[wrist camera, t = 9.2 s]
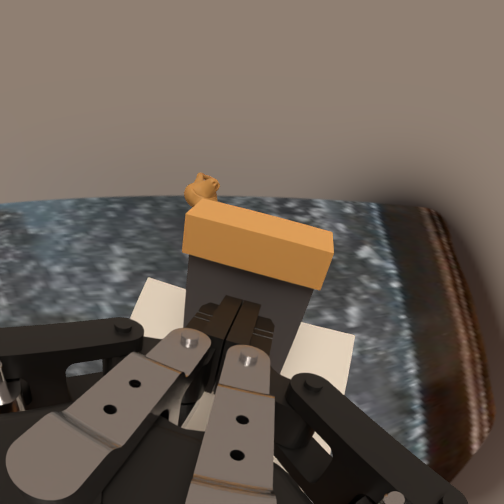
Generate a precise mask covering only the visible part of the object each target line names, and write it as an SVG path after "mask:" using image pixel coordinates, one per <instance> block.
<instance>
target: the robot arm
mask: <svg viewBox="0 0 504 504" xmlns="http://www.w3.org/2000/svg"><path fill="white" fill-rule="evenodd" d="M242 303H243V304H242ZM260 308H261V304H257V303H254V302H250V301H246V300H244V302H243V299H239V298H235V297H232V296H228V295H225V297H224V298H223V300H222V302H221V303H220V305H218V304H215V303H211V302H210V303H207V304H205V305H202V306H201V307H200V309H199V310H198V312H197V313H196V314H195V315H194V317H193V318H192V319H191V321H190V322H189V323H188V324H187V326H186V327H185V328H178V329H174V330H172V331H171V332H170V333H169V334H168V335H167V336H166V337H164V338H163V339H158V338H151V337H145V336H144V328H143V326H142V325H141V324H140V323H138V322H136V321H134V320H132V319H128V318H122V317H117V318H108V319H98V320H89V321H79V322H69V323H58V324H47V325H35V326H21V327H7V328H0V504H313V503H314V504H468V502H467V500H466V498H465V496H464V495H463V494H462V493H461V492H460V491H459V490H457V489H456V488H455V487H454V486H452V485H451V484H450V483H448V482H447V481H446V480H445V479H443V478H442V477H441V476H440V475H438V474H437V473H436V472H435V471H433V470H432V469H431V468H430V467H428V466H427V465H426V464H425V463H423V462H422V461H421V460H420V459H418V458H417V457H416V456H415V455H414V454H412V453H411V452H410V451H409V450H408V449H406V448H405V447H404V446H403V445H401V444H400V443H399V442H398V441H397V440H395V439H394V438H393V437H392V436H391V435H390V434H388V433H387V432H386V431H385V430H384V429H382V428H381V427H380V426H379V425H378V424H377V423H375V422H374V421H373V420H372V419H371V418H370V417H368V416H367V415H366V414H365V413H364V412H363V411H362V410H360V409H359V408H358V407H357V406H356V405H355V404H354V403H352V402H351V401H350V400H349V399H348V398H347V397H346V396H345V395H343V394H342V393H341V392H340V391H339V390H338V389H337V388H336V387H334V386H333V385H332V384H331V383H330V382H329V381H328V380H326V379H325V378H323V377H321V376H319V375H316V374H312V373H298V374H296V375H294V376H293V377H292V378H291V379H289V378H287V377H284V376H282V375H281V374H279V373H277V372H276V371H275V370H274V369H273V368H272V367H271V365H270V358H269V356H270V350H271V345H272V339H273V333H274V328H275V325H274V324H273V322H272V320H271V319H269V318H265V317H261V316H258V315H259V312H260ZM99 359H102V363H103V372H98V373H92V374H86V375H80V376H74V377H66V374H65V372H66V369H67V368H68V367H69V366H70V365H71V364H74V363H80V362H86V361H93V360H99ZM214 386H215V389H214ZM213 389H214V393H213V394H214V395H215V397H214V401H213V404H212V408H211V412H210V415H209V419H208V423H207V426H206V430H205V431H197V430H190V429H185V427H186V426H187V424H188V422H189V421H190V419H191V417H192V416H193V414H194V412H195V411H196V409H197V407H198V405H199V400H200V398H201V397H202V395H203V393H204V392H207V393H212V391H213ZM315 432H316V433H317V434H318V435H319V436H320V437H321V438H322V439H323V440H324V441H325V442H326V443H327V444H328V445H329V447H330V448H331V450H332V454H333V458H332V457H331V456H330V455H329V454H328V452H327V451H326V450H325V449H324V448H323V447H322V446H321V445H320V444H319V443H318V442H317V441H316V440H315V439H314V438H313V437H312V436H313V435H314V433H315ZM274 456H275V458H276V459H277V460H278V461H279V463H280V464H281V465H282V466H283V468H284V469H285V470H286V471H287V472H288V473H287V472H286V471H285V470H284V469H283V468H281V467H280V466H279V465H278V464H276V463H275V462H273V457H274ZM301 489H302V490H303V491H302V490H301ZM305 494H306V495H307V496H308V497H309V498H310V500H311V501H312V502H313V503H312V502H311V501H310V500H309V498H308V497H307V496H306V495H305Z"/></svg>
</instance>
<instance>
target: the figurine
mask: <svg viewBox="0 0 504 504" xmlns="http://www.w3.org/2000/svg"><path fill="white" fill-rule="evenodd" d="M204 179H205V181H204ZM219 187H220V184H219V183H218V181H217V180H216V179H214V178H212V177H210V176H207V175H205V174H203V173H198V175H197V177H196V180H195V182H194V183H192V184H189V185H188V186H187V187H186V189H185V192H184V196H185V199H186V201H187V203H188V204H189V205H190V206H192V207H194V206H195V205H196V204H197V203H198V202H199V201H200V200H201V199H202V198H204V199H208V200H212V201H216V202H217V194H216V191H217V190H218V189H219Z"/></svg>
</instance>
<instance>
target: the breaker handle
mask: <svg viewBox="0 0 504 504" xmlns="http://www.w3.org/2000/svg"><path fill="white" fill-rule="evenodd" d="M182 252H183V253H186V254H189V262H188V273H187V284H186V296H185V308H184V322H183V328H185V327H186V326H187V324H188V323H189V322H190V321H191V319H192V318H193V317H194V315H195V314H196V313H197V312H198V310H199V309H200V307H201V306H202V305H205V304H207V303H210V302H211V303H215V304H218V305H220V303H221V302H222V300H223V298H224V297H225V295H228V296H232V297H235V298H239V299H243V302H244V300H246V301H250V302H254V303H257V304H261V308H260V312H259V315H258V316H261V317H265V318H269V319H271V320H272V322H273V324H274V325H275V328H274V333H273V339H272V345H271V350H270V356H269V358H270V365H271V367H272V368H273V369H274V370H275V371H276V372H277V373H279V374H280V373H281V370H282V368H283V366H284V363H285V361H286V358H287V356H288V354H289V351H290V349H291V346H292V344H293V341H294V339H295V336H296V334H297V331H298V329H299V326H300V324H301V321H302V319H303V316H304V314H305V311H306V308H307V306H308V303H309V301H310V298H311V295H312V293H313V290H314V289H317V290H320V289H321V287H322V284H323V281H324V279H325V276H326V273H327V271H328V268H329V265H330V262H331V260H332V257H333V254H334V249H333V234H332V232H330V231H326V230H323V229H319V228H315V227H312V226H308V225H305V224H301V223H297V222H294V221H290V220H286V219H282V218H279V217H275V216H271V215H267V214H263V213H260V212H256V211H252V210H248V209H244V208H240V207H236V206H232V205H228V204H224V203H220V202H216V201H212V200H208V199H204V198H202V199H201V200H200V201H199V202H198V203H197V204H196V205H195V206H194V207H193V208H192V209H191V210H189V211H188V212H187V213H186V217H185V227H184V237H183V248H182ZM242 304H243V303H242ZM214 389H215V386H214ZM214 389H213V391H214Z"/></svg>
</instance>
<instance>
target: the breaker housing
mask: <svg viewBox="0 0 504 504" xmlns="http://www.w3.org/2000/svg"><path fill="white" fill-rule="evenodd" d="M185 296H186V289H183V288H180V287H177V286H174V285H170V284H167V283H164V282H161V281H158V280H155V279H152V278H149V277H148V279H147V281H146V283H145V286H144V288H143V290H142V292H141V294H140V297H139V299H138V301H137V304H136V306H135V308H134V311H133V313H132V315H131V318H130V319H132V320H134V321H136V322H138V323H140V324H141V325H142V326H143V328H144V336H145V337H151V338H158V339H163V338H164V337H166V336H167V335H168V334H169V333H170V332H171V331H172V330H174V329H178V328H183V322H184V308H185ZM354 338H355V335H351V334H347V333H343V332H339V331H335V330H330V329H326V328H322V327H318V326H314V325H310V324H306V323H302V322H301V324H300V326H299V329H298V331H297V334H296V336H295V339H294V341H293V344H292V346H291V349H290V351H289V354H288V356H287V358H286V361H285V363H284V366H283V368H282V370H281V373H280V374H281V375H282V376H284V377H287V378H289V379H291V378H292V377H293V376H294V375H296V374H298V373H312V374H316V375H319V376H321V377H323V378H325V379H326V380H328V381H329V382H330V383H331V384H332V385H333V386H334V387H336V388H337V389H338V390H339V391H340V392H341V393H342V394H343V395H344V393H345V388H346V383H347V378H348V373H349V367H350V362H351V356H352V350H353V344H354ZM213 393H214V391H212V393H207V392H204V393H203V395H202V397H201V398H200V400H199V405H198V407H197V409H196V411H195V412H194V414H193V416H192V417H191V419H190V421H189V422H188V424H187V426H186V427H185V429H190V430H197V431H205V430H206V426H207V423H208V419H209V415H210V412H211V408H212V404H213V401H214V397H215V395H214V394H213ZM312 437H313V438H314V439H315V440H316V441H317V442H318V443H319V444H320V445H321V446H322V447H323V448H324V449H325V450H326V451H327V452H328V454H329V455H330V452H331V448H330V447H329V445H328V444H327V443H326V442H325V441H324V440H323V439H322V438H321V437H320V436H319V435H318V434H317V433H316V432H315V433H314V435H313V436H312ZM273 462H275V463H276V464H278V465H279V466H280V467H281V468H283V466H282V465H281V464H280V463H279V461H278V460H277V459H276V458H275V456H274V457H273ZM283 469H284V468H283ZM284 470H285V469H284ZM285 471H286V470H285ZM286 472H287V471H286ZM287 473H288V472H287ZM301 490H302V489H301ZM302 491H303V490H302Z"/></svg>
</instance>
